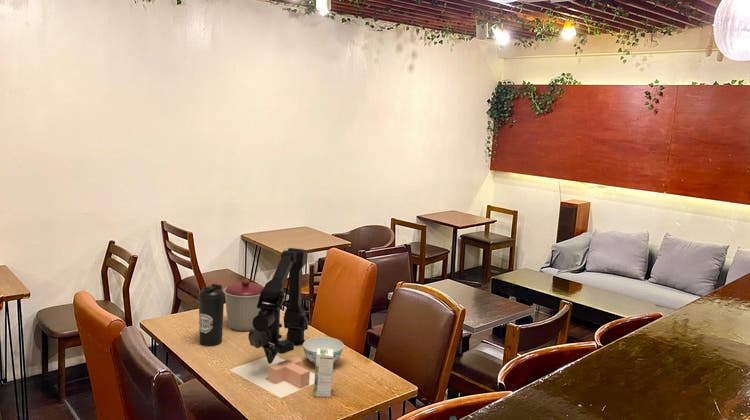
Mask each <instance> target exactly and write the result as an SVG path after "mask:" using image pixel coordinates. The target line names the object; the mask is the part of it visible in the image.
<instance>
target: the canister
mask: <svg viewBox="0 0 750 420" xmlns="http://www.w3.org/2000/svg"><path fill="white" fill-rule="evenodd" d="M263 288H264V286H263V285H262V284H259V283H256V282H250V279H248V278H243V279H242V280H241V281H240V282H236V283H235V282H234V283H232V284H229V285H227V286H225V287H224V288H223V289H222V290H223V292H224V293H225V300H224V301H225V309H226V317H227V318H226V319H227V323H228V326H229V327H230V328H231V329H232V330H235V331H240V332H242V331H243V332H246V331H252V330H255V328H254V327H253V324H252V321H253V319H254V317H256V316H257V315H258V312H259V311H261V309H259V308H257V304H258V301H259V297H260V294H261V291H262V289H263ZM262 303H263V304H265V303H264V302H262Z"/></svg>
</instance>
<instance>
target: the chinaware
mask: <svg viewBox="0 0 750 420" xmlns="http://www.w3.org/2000/svg"><path fill="white" fill-rule="evenodd" d="M344 346H345V345H344V342H342V340H340V339H337V338H334V337H329V336H317V337H316V336H315V337H311V338H308V339H306V340H305V342H304V343H303V344H302V347H303V351H304V355H305V356H306V359H308V361H310V362H311V363H312V364H314V365H315V366H316V355H317V349H333V350H334V357H333V364H334V363H335V362H336V361H337V360H338V359H339V358H340V356H342V352H343V350H344Z"/></svg>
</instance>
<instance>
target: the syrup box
mask: <svg viewBox="0 0 750 420" xmlns="http://www.w3.org/2000/svg"><path fill="white" fill-rule="evenodd" d="M333 357H334V350H333V349H317V355H316V365H315V366H314V367H315V369H314V374H315V381H314V384H313V385H314V386H313V396H314V397H317V398H318V397H319V398H323V397H324V398H325V397H326V398H330V397H332V386H333V372H334V363H333Z"/></svg>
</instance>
